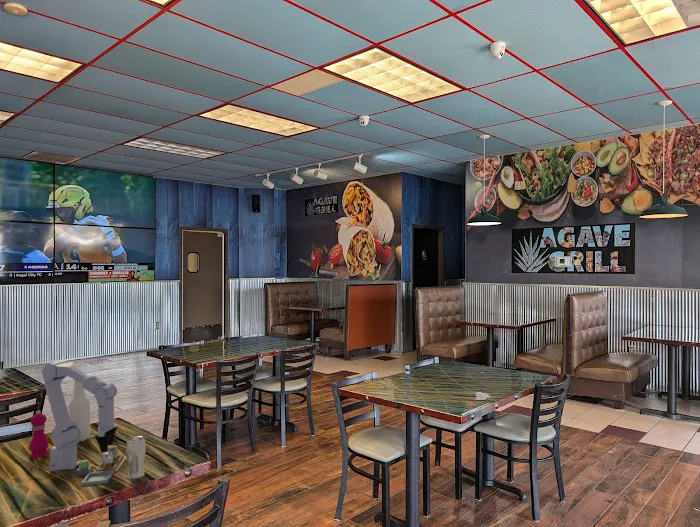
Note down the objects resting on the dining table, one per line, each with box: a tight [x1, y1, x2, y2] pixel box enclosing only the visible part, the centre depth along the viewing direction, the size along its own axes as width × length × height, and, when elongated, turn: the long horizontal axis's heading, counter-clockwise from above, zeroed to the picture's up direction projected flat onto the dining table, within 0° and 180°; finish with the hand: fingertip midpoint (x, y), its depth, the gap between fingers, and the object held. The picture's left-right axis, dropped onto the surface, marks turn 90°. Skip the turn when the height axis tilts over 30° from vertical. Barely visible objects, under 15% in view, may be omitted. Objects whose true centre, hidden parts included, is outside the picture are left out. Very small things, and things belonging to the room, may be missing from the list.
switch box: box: [75, 464, 94, 477], centre depth 201 cm, size 5×5×3 cm
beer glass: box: [125, 435, 146, 480], centre depth 198 cm, size 7×7×15 cm
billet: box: [101, 451, 113, 468], centre depth 204 cm, size 4×4×6 cm
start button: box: [79, 459, 89, 469], centre depth 201 cm, size 3×3×4 cm
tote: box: [80, 470, 115, 487], centre depth 195 cm, size 9×9×2 cm
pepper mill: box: [28, 410, 50, 459], centre depth 222 cm, size 7×7×20 cm
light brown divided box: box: [93, 444, 127, 473], centre depth 208 cm, size 9×14×7 cm, turn 10°
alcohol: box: [68, 379, 92, 443], centre depth 241 cm, size 9×9×30 cm
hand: (107, 448), depth 204 cm, fingers open, 7 cm apart
